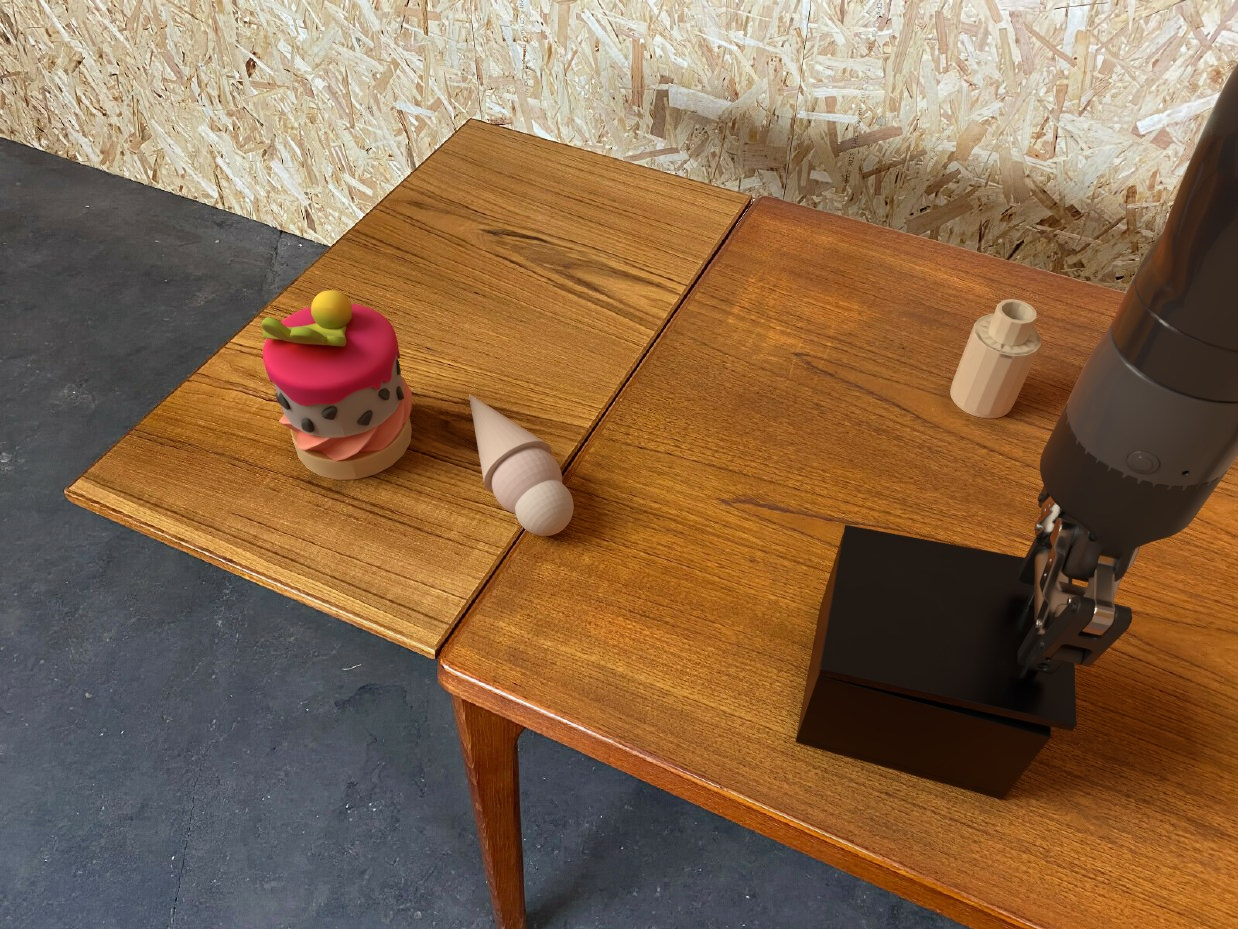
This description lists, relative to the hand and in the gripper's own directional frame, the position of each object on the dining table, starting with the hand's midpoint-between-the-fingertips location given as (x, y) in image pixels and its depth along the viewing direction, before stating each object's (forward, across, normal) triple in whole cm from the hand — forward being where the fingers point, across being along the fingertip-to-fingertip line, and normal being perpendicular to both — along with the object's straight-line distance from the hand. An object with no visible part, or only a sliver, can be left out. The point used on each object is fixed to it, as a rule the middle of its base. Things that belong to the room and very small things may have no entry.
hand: (1035, 620), depth 57 cm
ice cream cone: (+11, +10, +38) cm, 41 cm away
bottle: (+12, +33, +1) cm, 35 cm away
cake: (+11, +11, +53) cm, 55 cm away
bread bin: (+12, 0, +5) cm, 13 cm away
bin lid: (+2, 0, +5) cm, 5 cm away
